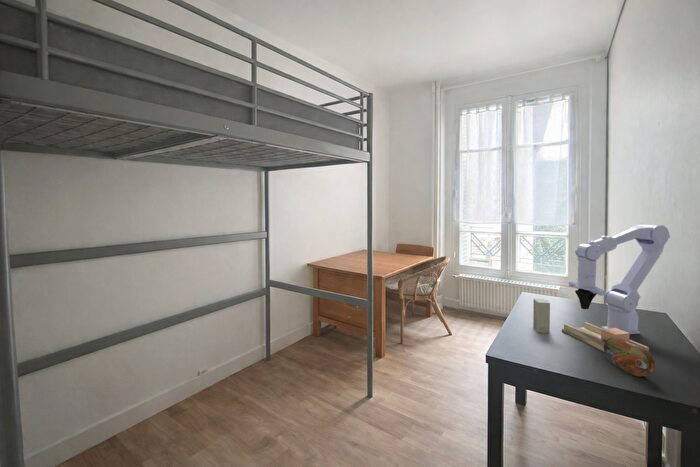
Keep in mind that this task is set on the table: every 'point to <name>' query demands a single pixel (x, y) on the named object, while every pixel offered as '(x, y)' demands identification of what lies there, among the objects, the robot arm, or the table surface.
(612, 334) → the block
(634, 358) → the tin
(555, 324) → the table surface
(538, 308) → the skincare box
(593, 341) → the chute
